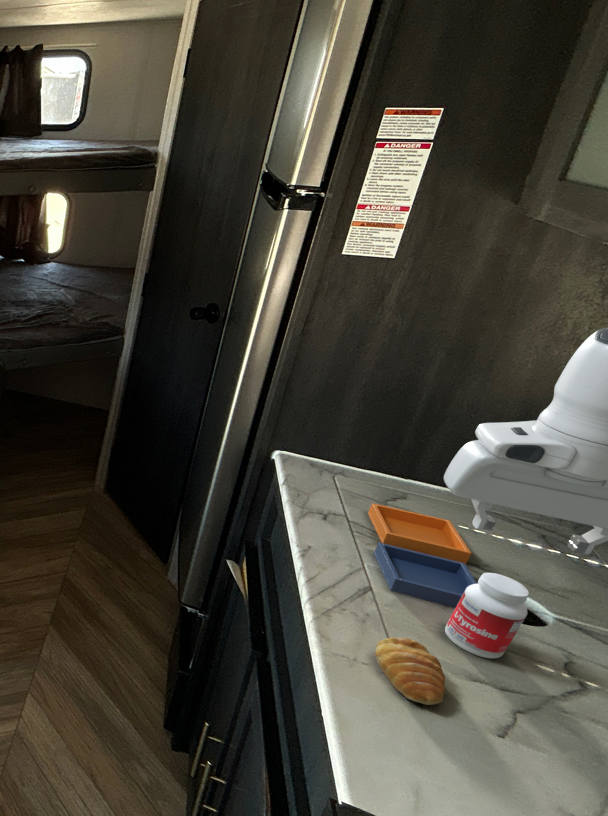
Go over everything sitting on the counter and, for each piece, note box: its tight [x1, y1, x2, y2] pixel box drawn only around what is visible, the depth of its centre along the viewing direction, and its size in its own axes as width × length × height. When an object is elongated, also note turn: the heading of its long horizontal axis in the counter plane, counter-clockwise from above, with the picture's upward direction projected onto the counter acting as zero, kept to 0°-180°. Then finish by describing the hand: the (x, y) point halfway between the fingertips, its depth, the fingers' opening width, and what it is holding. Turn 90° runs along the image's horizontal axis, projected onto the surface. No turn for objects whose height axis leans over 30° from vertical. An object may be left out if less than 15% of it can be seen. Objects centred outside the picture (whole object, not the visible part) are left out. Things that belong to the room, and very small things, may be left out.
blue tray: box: [373, 542, 478, 609], centre depth 103 cm, size 11×10×2 cm
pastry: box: [374, 636, 446, 706], centre depth 85 cm, size 9×7×4 cm
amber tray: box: [367, 502, 472, 565], centre depth 113 cm, size 11×10×2 cm
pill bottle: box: [444, 572, 530, 659], centre depth 90 cm, size 6×6×11 cm
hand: (527, 539), depth 84 cm, fingers open, 8 cm apart
